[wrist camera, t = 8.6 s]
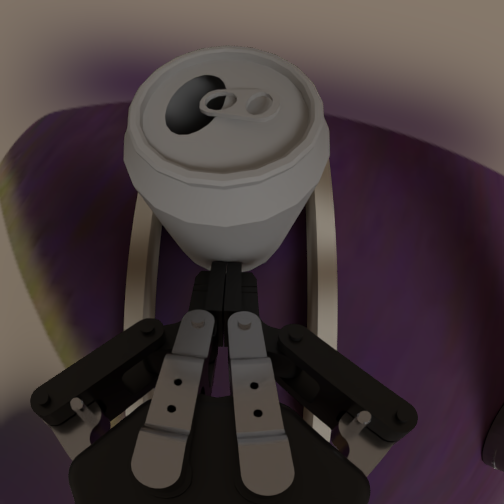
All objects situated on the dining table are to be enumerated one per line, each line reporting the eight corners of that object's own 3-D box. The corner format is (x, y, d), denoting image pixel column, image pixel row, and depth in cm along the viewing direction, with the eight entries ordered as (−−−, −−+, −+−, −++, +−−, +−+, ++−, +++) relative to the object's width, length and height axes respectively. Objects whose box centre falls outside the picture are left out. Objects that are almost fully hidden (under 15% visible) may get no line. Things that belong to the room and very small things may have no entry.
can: (197, 162, 20) (169, 26, 8) (295, 188, 20) (352, 61, 8) (160, 257, 18) (65, 173, 7) (268, 289, 18) (326, 242, 7)
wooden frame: (318, 428, 16) (329, 442, 14) (139, 421, 16) (127, 434, 13) (317, 156, 21) (326, 138, 18) (159, 150, 20) (151, 131, 18)
